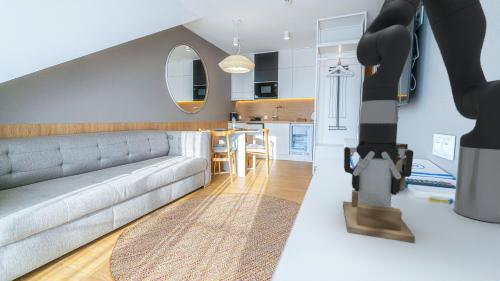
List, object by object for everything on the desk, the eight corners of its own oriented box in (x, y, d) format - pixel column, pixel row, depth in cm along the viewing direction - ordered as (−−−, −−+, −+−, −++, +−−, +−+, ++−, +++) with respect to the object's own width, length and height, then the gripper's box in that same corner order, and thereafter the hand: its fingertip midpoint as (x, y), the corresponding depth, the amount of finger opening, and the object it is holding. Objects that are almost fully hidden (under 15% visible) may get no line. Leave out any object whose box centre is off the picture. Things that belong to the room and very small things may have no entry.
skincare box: (391, 209, 51) (395, 158, 50) (383, 214, 48) (387, 160, 47) (364, 202, 56) (366, 154, 55) (355, 206, 53) (358, 156, 52)
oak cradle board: (392, 211, 58) (393, 192, 57) (414, 242, 43) (416, 216, 42) (342, 205, 62) (343, 187, 61) (347, 232, 47) (348, 208, 46)
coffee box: (391, 193, 72) (394, 145, 71) (372, 188, 77) (374, 143, 76) (405, 189, 77) (408, 143, 75) (386, 185, 82) (388, 142, 81)
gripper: (409, 121, 51) (405, 190, 53) (342, 121, 56) (340, 184, 58) (422, 121, 44) (416, 201, 46) (345, 121, 49) (342, 193, 51)
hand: (374, 192), depth 52 cm, fingers closed on skincare box, 7 cm apart
